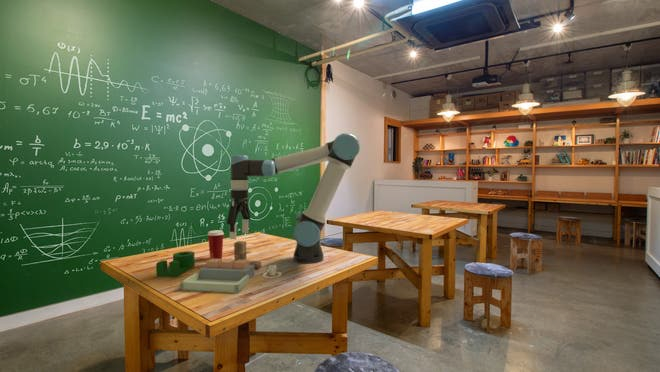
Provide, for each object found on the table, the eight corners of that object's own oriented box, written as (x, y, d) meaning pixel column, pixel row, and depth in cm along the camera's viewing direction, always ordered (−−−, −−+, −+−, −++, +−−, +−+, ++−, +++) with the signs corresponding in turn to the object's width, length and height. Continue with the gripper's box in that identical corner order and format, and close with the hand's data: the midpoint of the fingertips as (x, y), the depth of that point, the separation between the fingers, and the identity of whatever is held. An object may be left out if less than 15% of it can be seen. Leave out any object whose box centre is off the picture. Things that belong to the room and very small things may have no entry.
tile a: (248, 265, 135) (248, 259, 135) (244, 268, 131) (244, 262, 131) (238, 265, 136) (238, 259, 136) (234, 268, 132) (234, 262, 131)
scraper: (261, 267, 148) (260, 241, 147) (257, 270, 144) (257, 243, 143) (224, 266, 151) (223, 240, 150) (220, 268, 147) (219, 242, 146)
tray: (249, 282, 128) (249, 275, 128) (237, 293, 117) (237, 284, 117) (196, 280, 131) (196, 272, 131) (180, 290, 120) (180, 282, 120)
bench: (254, 275, 137) (254, 264, 137) (246, 282, 128) (246, 271, 128) (210, 273, 140) (210, 262, 140) (199, 280, 131) (198, 269, 131)
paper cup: (226, 257, 165) (226, 230, 164) (220, 261, 157) (219, 233, 157) (212, 256, 166) (211, 229, 165) (204, 261, 158) (204, 232, 157)
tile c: (221, 264, 137) (221, 258, 137) (216, 267, 132) (216, 261, 132) (211, 264, 138) (211, 258, 137) (206, 267, 133) (206, 261, 133)
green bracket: (180, 264, 153) (179, 251, 153) (198, 265, 152) (198, 251, 152) (156, 277, 135) (156, 262, 135) (176, 277, 134) (176, 262, 134)
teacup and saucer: (267, 271, 143) (267, 262, 143) (284, 272, 142) (284, 263, 142) (259, 278, 135) (259, 268, 134) (278, 279, 133) (278, 269, 133)
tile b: (235, 265, 136) (235, 259, 136) (230, 268, 132) (230, 262, 132) (225, 264, 137) (225, 258, 137) (220, 267, 132) (220, 261, 132)
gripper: (242, 187, 158) (242, 230, 159) (218, 190, 134) (218, 241, 135) (257, 188, 157) (257, 231, 158) (235, 191, 133) (235, 242, 134)
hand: (239, 236), depth 147 cm, fingers open, 13 cm apart
